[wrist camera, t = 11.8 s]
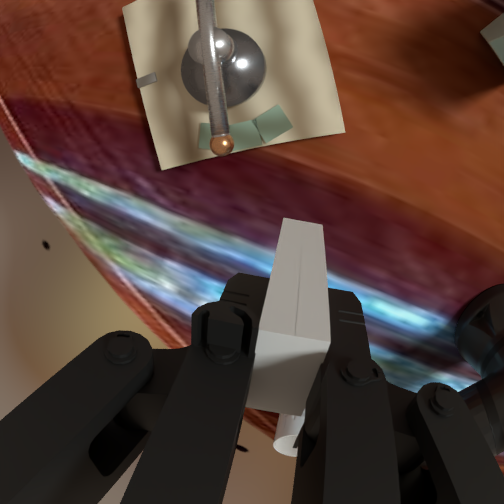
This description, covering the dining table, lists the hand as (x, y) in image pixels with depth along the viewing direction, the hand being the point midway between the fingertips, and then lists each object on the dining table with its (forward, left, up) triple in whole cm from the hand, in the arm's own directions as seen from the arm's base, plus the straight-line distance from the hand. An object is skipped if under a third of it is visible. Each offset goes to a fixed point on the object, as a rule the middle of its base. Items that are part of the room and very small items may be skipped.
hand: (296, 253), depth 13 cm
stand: (+6, -14, -26) cm, 30 cm away
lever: (+6, -13, -24) cm, 28 cm away
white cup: (+7, +43, -27) cm, 51 cm away
